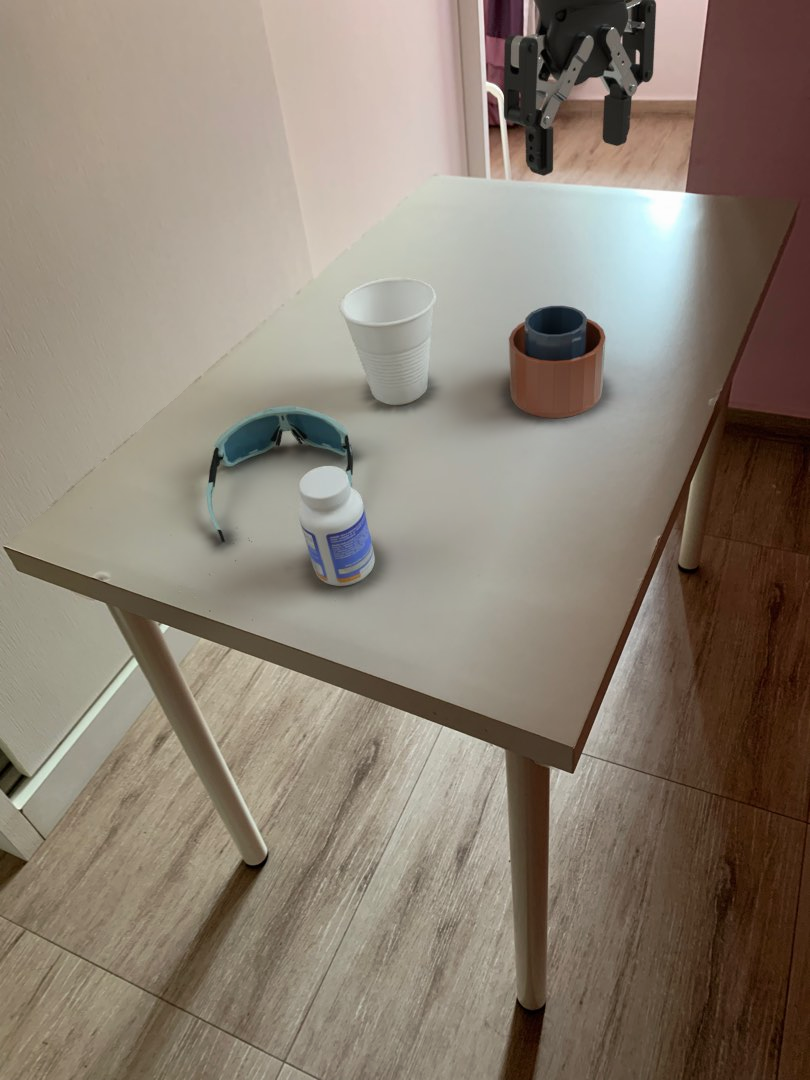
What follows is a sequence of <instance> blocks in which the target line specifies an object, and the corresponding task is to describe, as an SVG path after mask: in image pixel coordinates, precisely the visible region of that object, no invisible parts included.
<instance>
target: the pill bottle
mask: <svg viewBox="0 0 810 1080" xmlns="http://www.w3.org/2000/svg"><path fill="white" fill-rule="evenodd" d="M298 489H299V493H300V499H301V500H300V503H299V505H298V509H297V515H298V519H299V523H300V527H301V530H302V533H303V537H304V540H305V543H306V548H307V550H308V551H307V552H308V553H309V558H310V560H311V564H312V567H313V570H314V572H315V574H316V576H317V577H318V579H319V580H321V581H322V582H324V584H327V585H331V586H337V587H347V586H351V585H354V584H357V583H358V582H360V581H363V580H364V579H365V578H366V577H367V576H368V575H369V574H370V573H371V571H372V570H373V568H374V566H375V561H376V557H375V552H374V547H373V543H372V537H371V533H370V529H369V524H368V520H367V515H366V510H365V506H364V501H363V499H362V496H361V494H360V493H359V492H358V491H357V490H356V489H355V488H353V486H352V487H350V483H349V479H348V476H347V474H346V470H344V469H342V468H340V467H339V466H338V467H337V466H334V465H322V466H318V467H315V468H313V469H311V470H309V471H308V472H306V473H305V474H304V475H303V476H302V477H301V478H300V480H299V484H298Z"/></svg>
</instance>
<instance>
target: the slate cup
mask: <svg viewBox="0 0 810 1080" xmlns="http://www.w3.org/2000/svg"><path fill="white" fill-rule="evenodd" d="M587 319H588V318H587V316H586V314H585V313H584V312H583V311H582V310H580V309H578V308H576V307H572V306H567V305H548V306H543V307H539V308H537V309H535V310H533V311H531V312H530V313H529V314H528V315H527V316H526V317H525V319H524V322H525V355H526V356H528V357H532V358H535V359H539V360H547V361H562V360H570V359H574V358H578V357H581V356H584V355H585V345H586V323H587Z"/></svg>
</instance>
